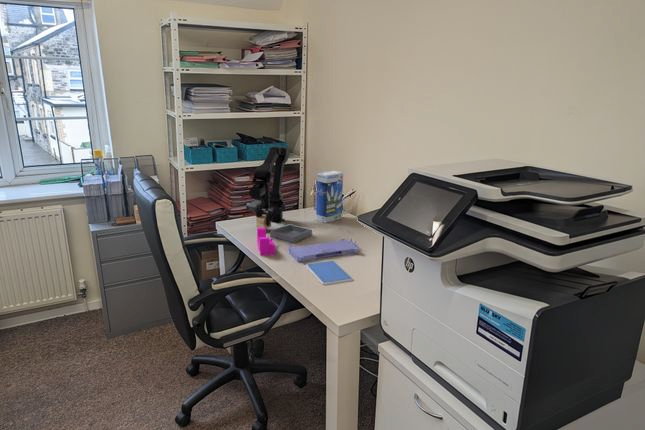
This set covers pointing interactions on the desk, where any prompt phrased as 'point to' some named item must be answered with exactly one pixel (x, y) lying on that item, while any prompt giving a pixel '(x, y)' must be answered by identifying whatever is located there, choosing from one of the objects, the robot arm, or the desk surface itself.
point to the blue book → (329, 272)
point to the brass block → (262, 222)
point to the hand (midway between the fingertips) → (263, 224)
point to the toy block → (265, 243)
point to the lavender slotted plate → (323, 250)
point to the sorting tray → (291, 233)
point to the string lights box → (329, 196)
